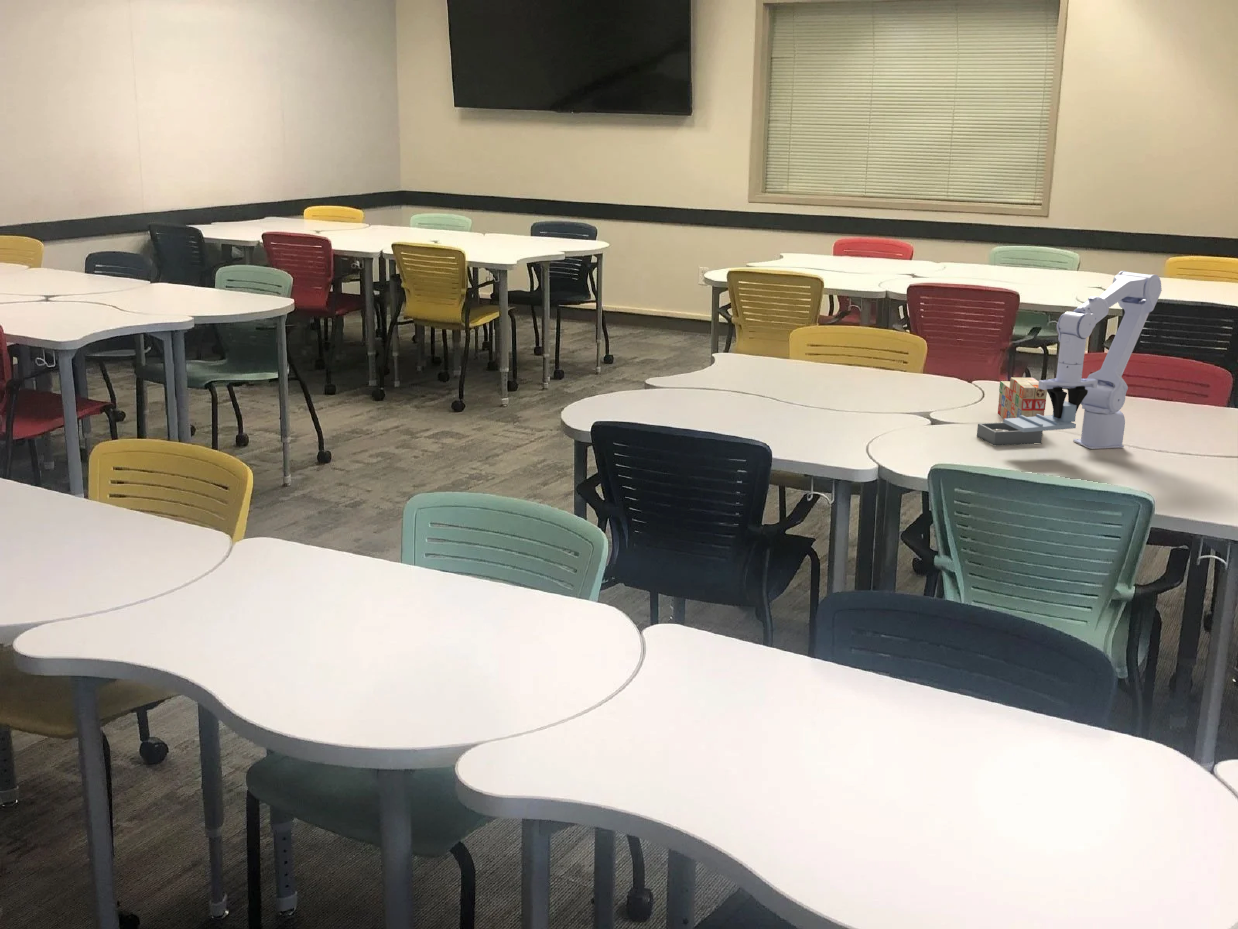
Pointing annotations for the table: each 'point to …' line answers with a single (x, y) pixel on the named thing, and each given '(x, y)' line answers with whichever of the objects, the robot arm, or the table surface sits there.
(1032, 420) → the lid
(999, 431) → the tub
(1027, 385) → the stack of blocks
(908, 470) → the table surface
